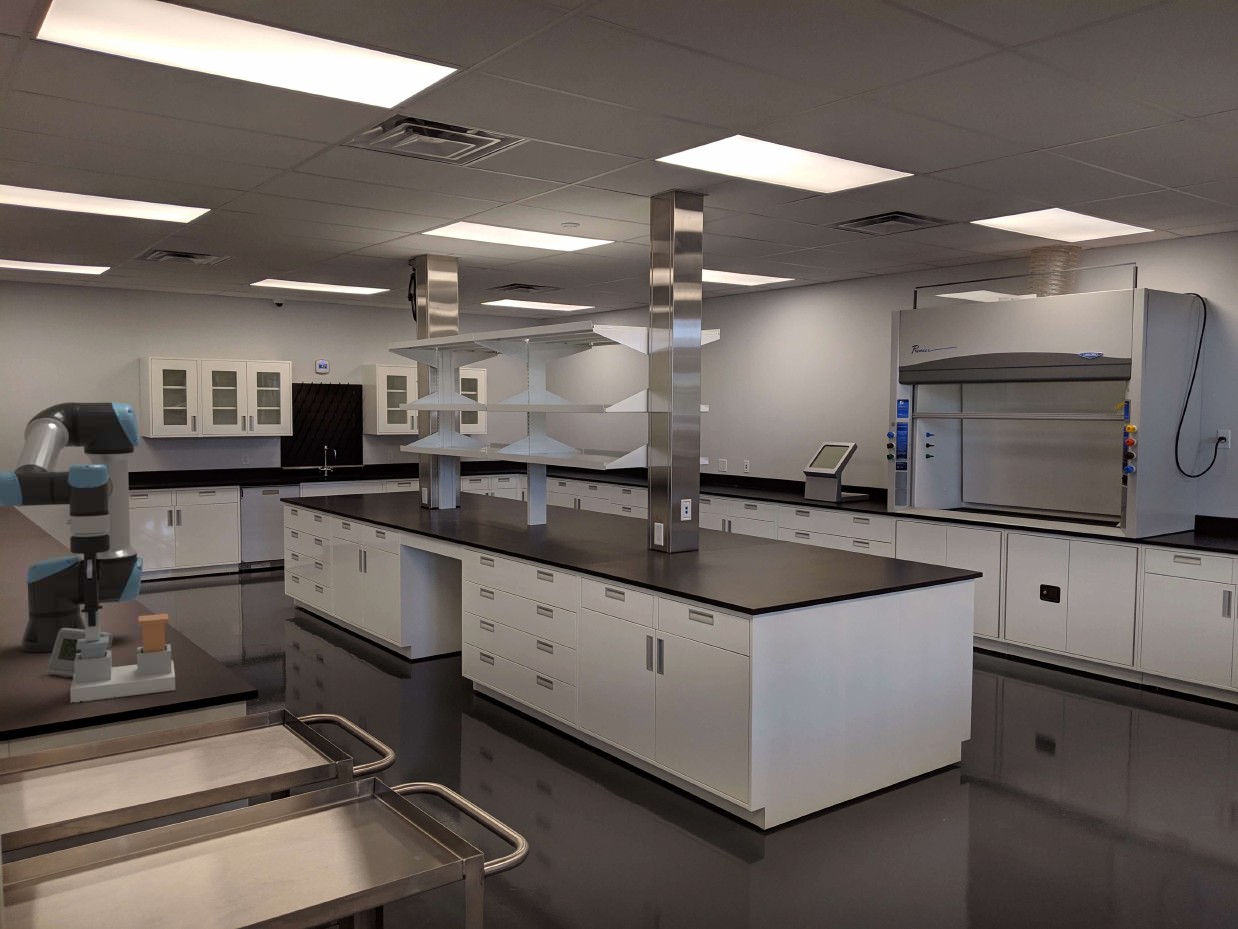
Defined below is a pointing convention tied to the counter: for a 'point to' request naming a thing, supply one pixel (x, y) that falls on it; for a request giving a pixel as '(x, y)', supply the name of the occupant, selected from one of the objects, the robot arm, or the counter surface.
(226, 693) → the counter surface
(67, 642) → the digital clock
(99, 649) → the grey plunger
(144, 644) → the orange plunger
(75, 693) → the button console
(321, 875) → the counter surface
